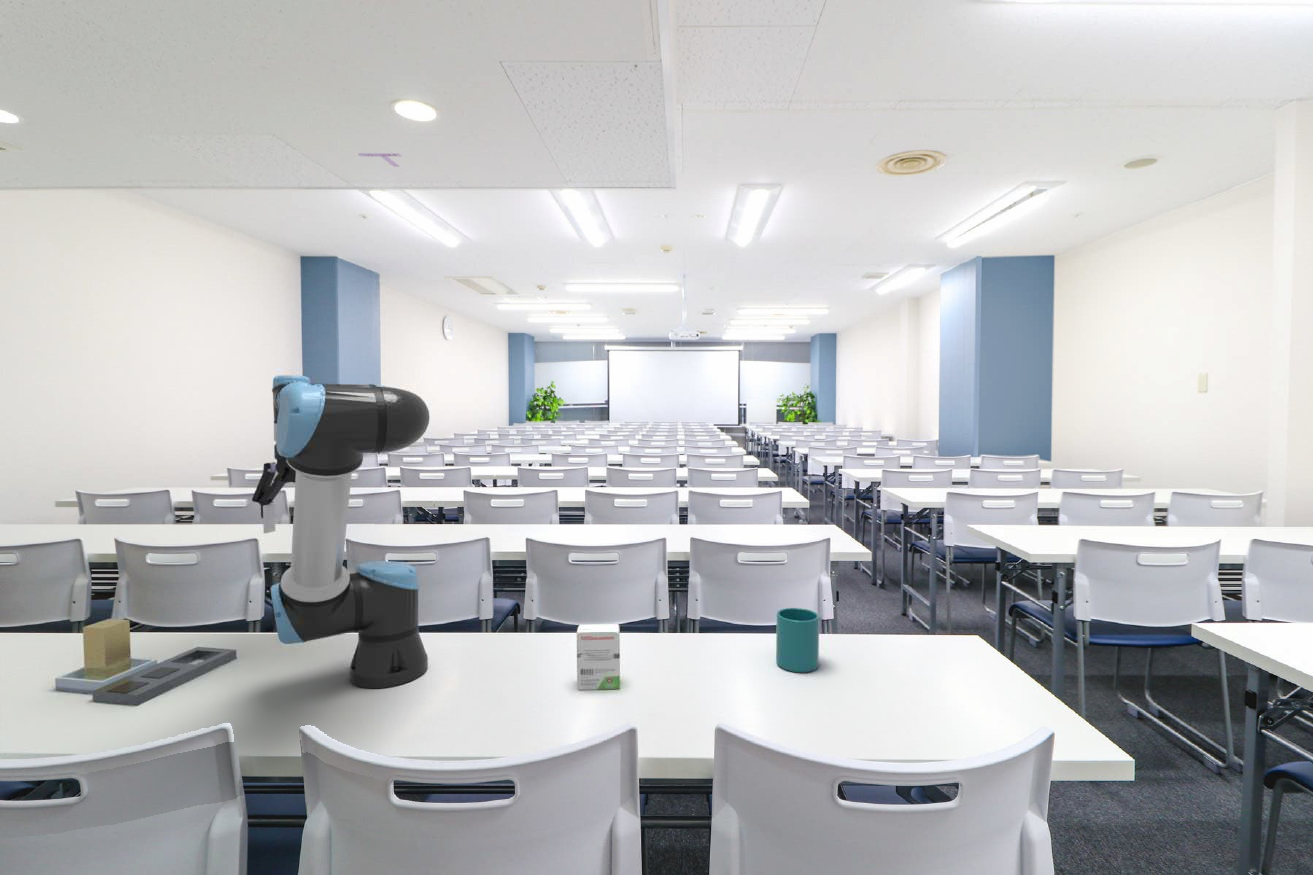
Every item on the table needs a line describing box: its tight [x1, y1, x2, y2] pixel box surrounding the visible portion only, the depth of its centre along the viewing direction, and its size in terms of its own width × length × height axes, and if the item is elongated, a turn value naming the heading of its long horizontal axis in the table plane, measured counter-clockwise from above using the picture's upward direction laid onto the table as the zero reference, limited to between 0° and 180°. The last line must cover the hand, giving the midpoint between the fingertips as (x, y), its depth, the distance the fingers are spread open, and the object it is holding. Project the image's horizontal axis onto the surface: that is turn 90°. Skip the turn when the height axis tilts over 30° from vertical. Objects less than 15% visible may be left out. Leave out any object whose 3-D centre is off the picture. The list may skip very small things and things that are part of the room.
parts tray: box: [54, 657, 158, 695], centre depth 124 cm, size 11×11×2 cm
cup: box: [775, 607, 820, 674], centre depth 134 cm, size 9×12×11 cm
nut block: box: [82, 618, 132, 681], centre depth 124 cm, size 5×5×11 cm
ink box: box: [576, 623, 621, 691], centre depth 123 cm, size 9×5×12 cm, turn 93°
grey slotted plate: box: [92, 646, 238, 707], centre depth 125 cm, size 10×22×2 cm, turn 171°
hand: (295, 533), depth 142 cm, fingers open, 13 cm apart
